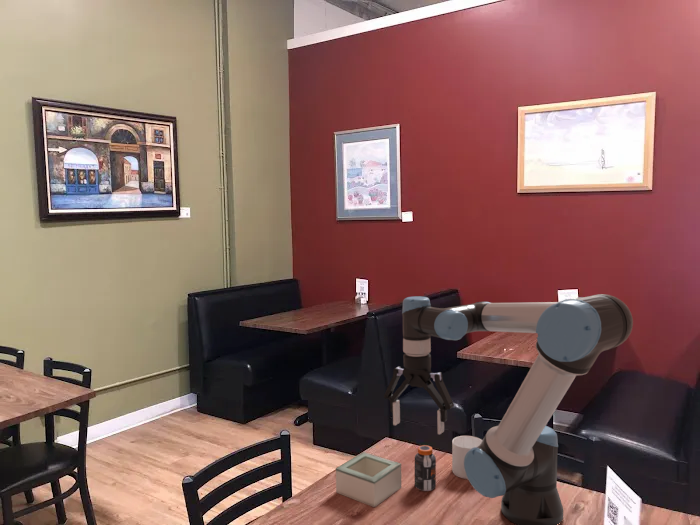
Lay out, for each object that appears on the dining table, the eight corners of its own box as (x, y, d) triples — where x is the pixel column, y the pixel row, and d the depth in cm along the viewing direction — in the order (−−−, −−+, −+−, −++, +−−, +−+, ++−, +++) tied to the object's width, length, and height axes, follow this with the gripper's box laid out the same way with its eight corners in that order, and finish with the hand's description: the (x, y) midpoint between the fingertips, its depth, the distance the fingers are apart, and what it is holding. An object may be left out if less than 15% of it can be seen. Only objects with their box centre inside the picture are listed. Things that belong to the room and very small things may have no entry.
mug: (485, 480, 165) (486, 448, 164) (453, 479, 165) (453, 448, 164) (479, 461, 177) (479, 432, 176) (449, 460, 177) (449, 431, 176)
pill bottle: (435, 492, 158) (435, 453, 157) (413, 490, 159) (413, 451, 158) (436, 482, 164) (436, 444, 162) (415, 480, 165) (415, 442, 164)
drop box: (401, 487, 161) (401, 463, 160) (374, 507, 151) (374, 481, 150) (364, 474, 169) (363, 451, 168) (336, 492, 159) (335, 468, 158)
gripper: (465, 355, 154) (465, 431, 156) (384, 345, 168) (385, 416, 169) (454, 361, 148) (455, 441, 150) (370, 351, 161) (372, 424, 163)
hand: (418, 428), depth 160 cm, fingers open, 13 cm apart
